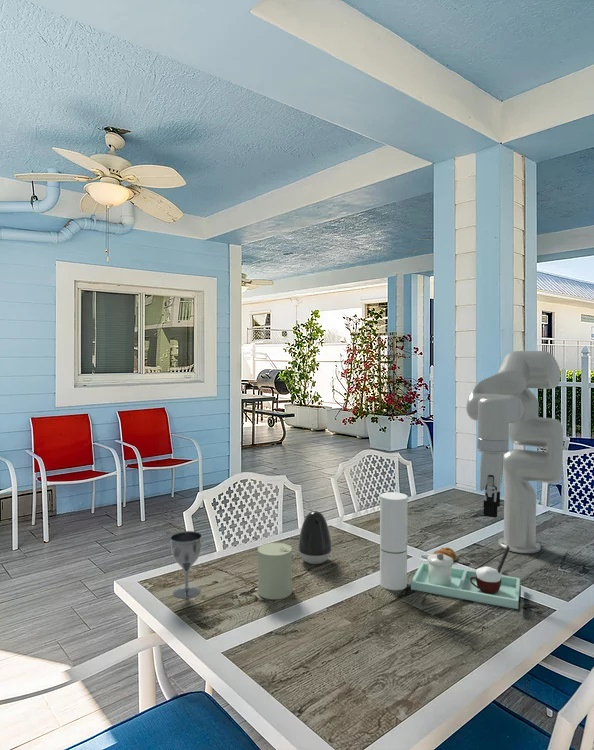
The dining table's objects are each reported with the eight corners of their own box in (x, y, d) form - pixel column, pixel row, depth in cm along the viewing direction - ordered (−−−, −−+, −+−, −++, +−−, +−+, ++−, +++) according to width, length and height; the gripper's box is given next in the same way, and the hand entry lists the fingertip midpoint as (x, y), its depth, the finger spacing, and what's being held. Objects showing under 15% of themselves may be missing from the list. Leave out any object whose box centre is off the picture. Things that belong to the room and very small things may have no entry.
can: (284, 602, 133) (284, 555, 132) (251, 596, 136) (251, 550, 136) (297, 586, 142) (297, 543, 141) (265, 581, 145) (265, 538, 144)
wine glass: (175, 601, 133) (175, 543, 132) (168, 589, 140) (167, 534, 140) (206, 595, 137) (205, 538, 136) (197, 583, 144) (196, 529, 143)
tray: (421, 572, 151) (421, 562, 151) (519, 589, 140) (519, 578, 140) (410, 592, 138) (411, 581, 138) (518, 613, 127) (518, 601, 127)
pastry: (445, 571, 152) (445, 558, 152) (423, 565, 156) (424, 552, 156) (459, 561, 159) (459, 549, 159) (438, 556, 163) (438, 544, 163)
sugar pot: (429, 575, 146) (430, 547, 146) (454, 580, 143) (454, 550, 143) (425, 585, 140) (425, 555, 140) (450, 590, 137) (451, 559, 137)
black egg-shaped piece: (302, 569, 153) (302, 518, 152) (295, 555, 163) (295, 507, 162) (336, 566, 155) (336, 515, 154) (326, 553, 165) (326, 505, 164)
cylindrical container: (408, 584, 143) (409, 493, 142) (404, 595, 136) (405, 500, 135) (382, 580, 146) (382, 491, 144) (377, 591, 139) (378, 498, 138)
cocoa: (469, 592, 137) (467, 547, 136) (475, 582, 142) (473, 539, 141) (507, 600, 132) (505, 553, 131) (512, 590, 137) (510, 545, 136)
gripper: (480, 439, 144) (479, 500, 145) (473, 450, 129) (472, 519, 129) (510, 440, 141) (509, 503, 142) (506, 452, 125) (505, 523, 126)
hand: (491, 510), depth 136 cm, fingers open, 9 cm apart
